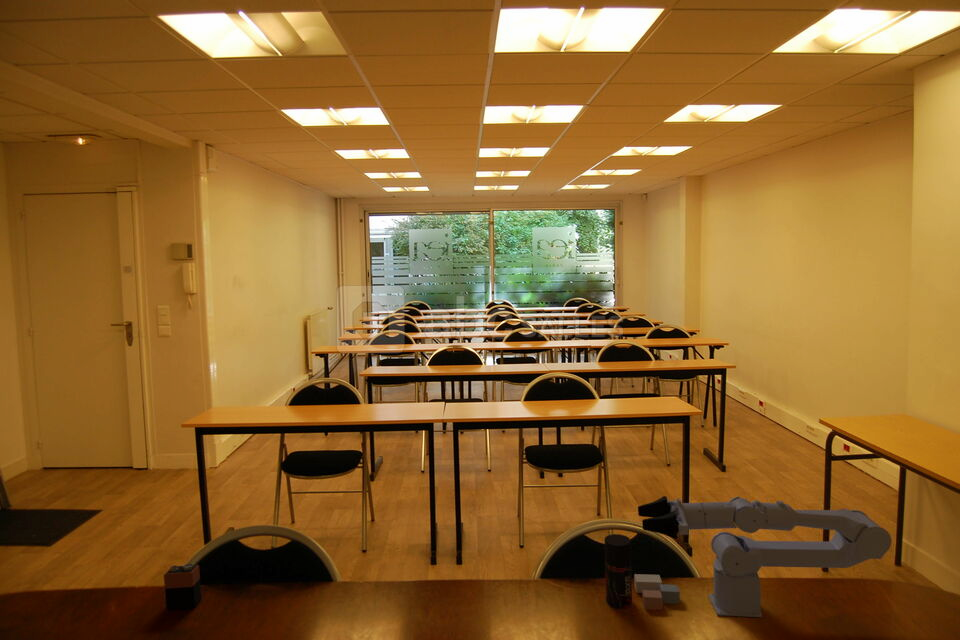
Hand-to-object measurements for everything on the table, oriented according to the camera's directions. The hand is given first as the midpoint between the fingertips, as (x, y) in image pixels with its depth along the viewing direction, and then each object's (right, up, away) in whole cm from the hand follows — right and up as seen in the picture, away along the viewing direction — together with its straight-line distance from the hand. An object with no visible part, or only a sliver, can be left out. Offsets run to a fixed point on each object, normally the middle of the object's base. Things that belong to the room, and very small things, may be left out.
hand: (640, 517), depth 131 cm
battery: (-110, -25, +9) cm, 113 cm away
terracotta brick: (+3, -21, 0) cm, 21 cm away
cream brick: (+4, -20, +7) cm, 22 cm away
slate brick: (+8, -20, +2) cm, 22 cm away
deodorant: (-4, -21, +2) cm, 21 cm away
